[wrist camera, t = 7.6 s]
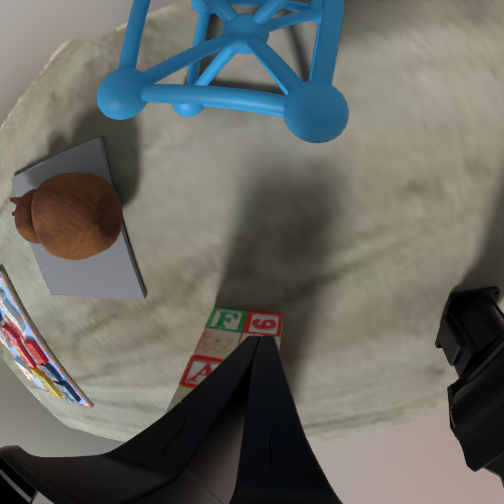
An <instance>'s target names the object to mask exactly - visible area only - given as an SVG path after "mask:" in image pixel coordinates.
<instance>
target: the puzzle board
mask: <svg viewBox="0 0 504 504" xmlns="http://www.w3.org/2000/svg"><path fill="white" fill-rule="evenodd" d="M0 341H1V342H2V343H3V344H4V345H5V346H6V347H7V348H8V349H9V351H10V352H11V354H12V355H13V356H14V358H15V359H14V361H15V364H16V365H17V366H18V368H19V369H20V370H21V372H22V373H23V374H24V375H25V377H26V378H28V379H29V380H32V381H33V382H34V383H35V385H36V386H37V387H38V388H41V389H43V390H45V391H47V392H49V393H50V394H51V395H53V396H55V397H58V398H64V399H66V400H67V401H68V402H70V403H74V404H75V403H77V404H80V405H83V406H86V407H89V408H92V409H93V406H94V405H93V404H92V402H91V401H90V400H89V399H88V398H87V397H86V396H85V394H84V393H83V392H82V391H81V390H80V388H79V387H78V386H77V385H76V384H75V382H74V381H73V380H72V379H71V377H70V376H69V375H68V374H67V372H66V371H65V370H64V368H63V367H62V366H61V364H60V363H59V362H58V360H57V359H56V357H55V356H54V355H53V353H52V352H51V350H50V349H49V347H48V346H47V344H46V343H45V341H44V340H43V338H42V337H41V335H40V334H39V332H38V331H37V329H36V327H35V326H34V324H33V323H32V321H31V319H30V317H29V316H28V314H27V312H26V311H25V309H24V307H23V305H22V303H21V302H20V300H19V298H18V296H17V294H16V292H15V290H14V288H13V286H12V284H11V282H10V280H9V278H8V276H7V274H6V272H5V270H4V269H3V270H0Z"/></svg>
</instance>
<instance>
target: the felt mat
mask: <svg viewBox="0 0 504 504" xmlns="http://www.w3.org/2000/svg"><path fill="white" fill-rule="evenodd" d="M61 173H91V174H94V175H97V176H100V177H102V178H103V179H105V180H106V181H108V182H109V183H110V184H112V180H111V175H110V171H109V167H108V162H107V157H106V152H105V147H104V142H103V137H102V136H101V137H97V138H95V139H92V140H90V141H87V142H85V143H82V144H80V145H78V146H75V147H73V148H71V149H68V150H66V151H64V152H62V153H60V154H57V155H55V156H53V157H51V158H49V159H47V160H45V161H43V162H41V163H39V164H37V165H35V166H33V167H31V168H29V169H27V170H26V171H24V172H22V173H20V174H18V175H16V176H15V177H13V178H11V180H12V184H13V188H14V192H15V196H16V197H22V196H23V195H24V194H25V193H26V192H28V191H30V190H32V189H38V187H39V186H40V184H41V183H42V182H44V181H45V180H47V179H48V178H50V177H52V176H54V175H56V174H61ZM112 185H113V184H112ZM30 245H31V247H32V250H33V253H34V255H35V258H36V261H37V263H38V266H39V268H40V270H41V273H42V275H43V277H44V280H45V282H46V284H47V286H48V289H49V291H50V293H51V295H60V296H78V297H99V298H128V299H145V298H146V296H147V295H146V292H145V289H144V287H143V284H142V281H141V278H140V275H139V273H138V270H137V267H136V264H135V261H134V258H133V255H132V252H131V249H130V245H129V242H128V239H127V236H126V232H125V229H124V225H123V222H122V227H121V232H120V234H119V236H118V238H117V240H116V242H115V243H114V244H113V245H112V246H111V247H110V248H108V249H107V250H105V251H103V252H101V253H99V254H96V255H94V256H91V257H89V258H86V259H82V260H67V259H63V258H60V257H57V256H54V255H52V254H50V253H49V252H48V251H47V250H46V249H45V248H44V246H43V245H42V244H35V243H32V242H30Z"/></svg>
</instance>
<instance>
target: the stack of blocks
mask: <svg viewBox="0 0 504 504" xmlns="http://www.w3.org/2000/svg"><path fill="white" fill-rule="evenodd" d="M282 324H283V314H274V313H265V312H255V311H242V310H234V309H226V308H219V307H214V308H213V310H212V312H211V314H210V316H209V318H208V320H207V323H206V325H205V327H204V332H203V334H202V336H201V338H200V340H199V342H198V344H197V346H196V349H195V351H194V355H192V356H191V357H190V360H189V362H188V364H187V366H186V368H185V371H184V373H183V375H182V378H181V380H180V382H179V386H178V388H177V390H176V392H175V394H174V396H173V398H172V400H171V403H170V405H169V407H168V409H167V411H166V413H167V412H168V411H169V410H171V409H172V408H173V407H174V406H175V405H176V404H177V403H178V402H180V403H181V400H182V399H183V398H184V397H185V396H186V395H187V394H188V393H189V392H191V391H192V390H193V389H194V388H195V387H196V386H197V385H198V384H199V383H200V382H201V381H202V380H203V379H204V378H205V377H207V376H208V375H209V374H210V373H211V372H212V371H213V370H214V369H215V368H216V367H217V366H218V365H219V364H220V363H221V362H222V361H223V360H224V359H225V358H226V357H227V356H228V355H229V354H230V353H231V352H232V351H233V350H234V349H235V348H236V347H237V346H238V345H239V344H240V343H241V342H242V341H243V340H244V339H245V338H246V337H247V336H249V335H260V336H261V337H262V336H263V335H273V336H275V339H276V343H277V346H278V349H280V342H281V333H282ZM166 413H165V414H166Z"/></svg>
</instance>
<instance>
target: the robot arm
mask: <svg viewBox="0 0 504 504" xmlns="http://www.w3.org/2000/svg"><path fill="white" fill-rule="evenodd" d="M499 294H500V289H499V288H498V287H491V288H485V289H478V290H472V291H465V292H458V293H453V294H451V295H450V296H449V299H448V303H447V306H446V310H445V314H444V316H443V319H442V322H441V325H440V328H439V331H438V335H437V339H436V342H435V345H436V347H437V348H443V351H444V353H445V355H446V357H447V360H448V362H449V364H450V365H451V366H453V365H454V367H455V369H456V372H457V374H458V377H459V379H458V380H457V381H456V382H454V383H453V384H451V385H450V386H449V387H448V388H447V390H448V402H449V417H450V428H451V430H452V431H453V433H454V435H455V437H456V438H457V439H458V440H459V442H460V444H461V447H462V449H463V453H464V457H465V461H466V464H467V466H468V467H469V468H470V469H471V470H473V471H474V472H476V471H478V470H480V469H481V468H484V469H486V470H488V471H490V472H492V473H494V474H496V475H498V476H499V477H500V478H501V481H502V484H503V487H504V314H503V312H502V311H501V310H500V308H499V307H498V306H497V304H496V303H497V300H498V297H499ZM454 298H455V299H454ZM453 299H454V300H453ZM0 504H343V503H342V502H341V500H340V499H339V498H338V496H337V495H336V493H335V492H334V490H333V489H332V487H331V485H330V484H329V482H328V480H327V478H326V476H325V474H324V472H323V470H322V468H321V466H320V465H319V463H318V461H317V459H316V457H315V455H314V453H313V451H312V449H311V447H310V445H309V443H308V440H307V438H306V436H305V433H304V430H303V428H302V425H301V422H300V418H299V415H298V413H297V409H296V406H295V402H294V399H293V396H292V392H291V389H290V386H289V382H288V379H287V376H286V373H285V369H284V366H283V363H282V359H281V356H280V353H279V349H278V346H277V343H276V339H275V336H273V335H263V336H262V337H261V336H260V335H249V336H247V337H246V338H245V339H244V340H243V341H242V342H241V343H240V344H239V345H238V346H237V347H236V348H235V349H234V350H233V351H232V352H231V353H230V354H229V355H228V356H227V357H226V358H225V359H224V360H223V361H222V362H221V363H220V364H219V365H218V366H217V367H216V368H215V369H214V370H213V371H212V372H211V373H210V374H209V375H208V376H207V377H205V378H204V379H203V380H202V381H201V382H200V383H199V384H198V385H197V386H196V387H195V388H194V389H193V390H192V391H191V392H189V393H188V394H187V395H186V396H185V397H184V398H183V399H182V400H181V403H180V402H178V403H177V404H176V405H175V406H174V407H173V408H172V409H171V410H169V411H168V412H167V413H166V414H165V415H164V416H162V417H161V418H160V419H159V420H157V421H156V422H155V423H153V424H152V425H151V426H149V427H148V428H146V429H145V430H143V431H142V432H141V433H139V434H138V435H136V436H135V437H133V438H132V439H130V440H129V441H127V442H125V443H124V444H122V445H121V446H119V447H118V448H116V449H114V450H112V451H110V452H107V453H104V454H100V455H92V456H77V457H38V456H34V455H31V454H29V453H27V452H26V451H25V450H23V449H22V448H21V447H20V446H17V445H14V446H4V447H1V448H0Z"/></svg>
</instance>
